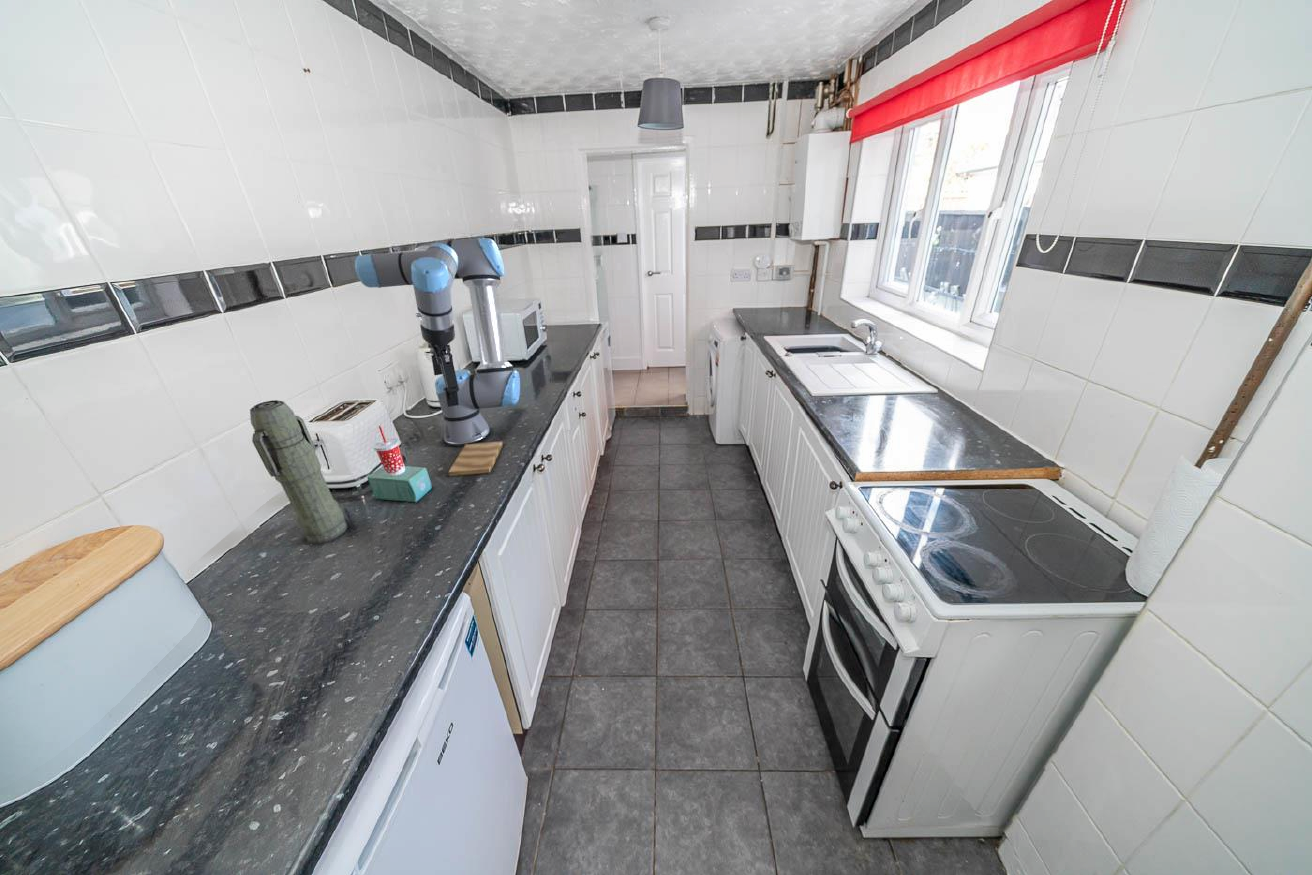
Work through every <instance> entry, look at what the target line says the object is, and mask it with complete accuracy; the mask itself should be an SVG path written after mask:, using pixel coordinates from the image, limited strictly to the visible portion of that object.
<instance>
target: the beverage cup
mask: <svg viewBox="0 0 1312 875" xmlns="http://www.w3.org/2000/svg"><path fill="white" fill-rule="evenodd" d="M378 429H379V433H380V434H381V437H382V439H380V440H378V441H376V442H375V443H373V445H372V447H373V450H374V451H376V454H377V456H378V459H379V460H380V462H381V465H382V467H384V469H385V471H386V473H387V475H388V476H397V475H400V474H402V473H403V472H404V471H405V466H406V465H405V463H404V460H403V459H404V458H403V456H402V451H401V447H400V442H399V439H398V438H396V437H390V438H386V437H385V434H384V431H383V429H382V426H381V425H379V426H378Z"/></svg>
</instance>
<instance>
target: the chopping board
mask: <svg viewBox="0 0 1312 875" xmlns="http://www.w3.org/2000/svg"><path fill="white" fill-rule="evenodd" d="M502 448H503V442H502V441H489V442H478V443H475V444H466V445H465V446H463V448H462V449H461V451H460V452H459V455H458V456H457V458H456V459H455V460H454V462H453V464H452V465H451V467H450V469H448V470H449V471H448V475H449V477H456V476H467V475H480V474H490V473H491V471H492V469H493V467H494V465H495V463H496V460H497V458H498V456H499V455H500V452H501V450H502Z"/></svg>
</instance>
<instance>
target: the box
mask: <svg viewBox="0 0 1312 875" xmlns="http://www.w3.org/2000/svg"><path fill="white" fill-rule="evenodd" d="M404 466H405V471H404V472H403V473H402V474H400V475H397V476H388V475H387V473H386V471H385V469H384V467H383V466H382V467H380V468H378V469H377V470H375V471H373V472H372V473H370V474H369V475H368V476H367V478H366V479H367V481H368V483H369V486H370V488H371V492H372V494H373V498H374V499H376V500H387V501H395V502H397V501H398V502H410V503H417V502H418V501H420V499H422V498H423V497H424V496H425V495H426V494H427V493H429V491H431V490H432V482H431V478H430V475H429V472H428V470H427V468H426V467H422V466H408V465H404Z"/></svg>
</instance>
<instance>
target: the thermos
mask: <svg viewBox="0 0 1312 875" xmlns="http://www.w3.org/2000/svg"><path fill="white" fill-rule="evenodd" d="M249 414H250V424H251V425H252V428H253V430H254V431H253V434H252V439H251V442H252V444H253V446H254V448H255V450H256V452H257V453H258V456H259V457H260V460H261V461H262V463H263V465H264V467H265V469H266V471H267V472H268V474H269V476H270V477H274V480H275V481H276V482H278V483H279V484H280V485H281V487H282V489H283V492H284V493H285V495H286V497H287V499H288V501H289V503H290V505H291V507H292V510H293V511H294V513H295V521H296V523H297V525H298V527H299V529H300V532H301V533H302V534H303V535H304V536H305V538H306V541H307V542H308V543H310V544H315V545H316V544H322V543H323V544H324V543H326V542H330V541H332V540H334V539H336V538H338V537H339V536H341V535H342V534H344V533H345V532H346V531H347V528H348V523H347V521H346V520H345V515H344V513H343V510H342V509H341V506H340V504H339V502H337V501H336V500H335V499H334V497H333V495H332V493H331V491H330V489H329V486H328V483H327V482H326V480H325V477H324V475H323V473H322V470H321V469H322V464H321V462H320V460H319V459H318V456H317V454H316V450H317V448H316V445H315V443H314V441H313V439H312V437H311V435H310V432H309V430H308V428H307V425H306V423H305V421H304V419H303V418H302V417H300V416H299V415H295V413H294V411H293V410H292V408H291V407H290V406H289V405H288V404H287V403H286V402H285V401H283V400H277V399H275V400H267V401H263V402H260V403H257V404H255V405H253V407H251V408H250V409H249Z"/></svg>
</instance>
